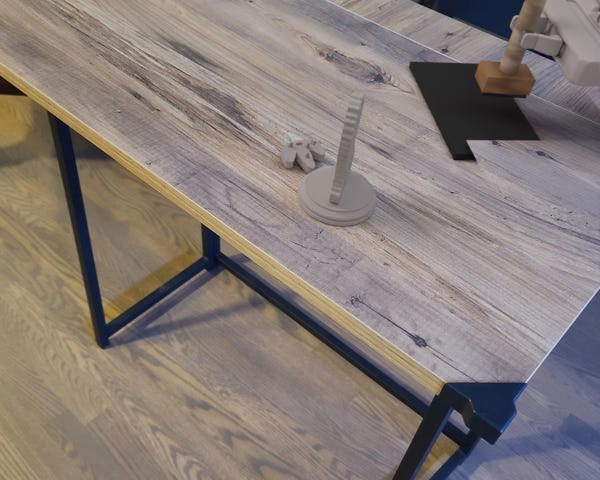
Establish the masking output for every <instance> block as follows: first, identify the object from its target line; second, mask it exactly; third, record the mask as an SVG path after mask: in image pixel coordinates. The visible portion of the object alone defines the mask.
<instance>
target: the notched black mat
mask: <svg viewBox="0 0 600 480" xmlns="http://www.w3.org/2000/svg"><path fill="white" fill-rule="evenodd" d="M478 65H479V63H472V62H443V61H441V62H440V61H409V65H408V68H409V70H410V72H411V74H412V77H413V78H414V80H415V83H416V85H417V87H418V90H419V91H420V93H421V96H423V99H424V101H425V103H426V105H427V107H428V109H429V112H430V114H431V116H432V118H433V120H434V122H435V124H436V126H437V128H438V129H439V132H440V134H441V136H442V138H443V140H444V143H445V145H446V147H447V149H448V151H449V153H450V155H451V157H452V159H453V160H454V161H463V160H464V161H477V158H476V156H475V154H474V152H473V150H472V149H471V147H470V145H469V143H468V141H505V142H506V141H507V142H508V141H509V142H510V141H515V142H517V141H520V142H522V141H523V142H524V141H525V142H527V141H529V142H534V141H535V142H540V141H542V140H541V139H540V137H539V136H538V134H537V133H536V130H534V128H533V126H532V125H531V123H530V121H529V120H528V119H527V117H526V116H525V114H524V113H523V111H522V109H521V108H520V106H519V105H518V103H517V101H516V100H515V98H512V97H497V96H482V95H481V93H480V90H479V88H478V86H477V84H476V82H475V79H476V78H475V73H476V71H477V68H478Z"/></svg>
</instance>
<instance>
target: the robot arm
mask: <svg viewBox="0 0 600 480" xmlns="http://www.w3.org/2000/svg"><path fill="white" fill-rule="evenodd" d="M518 17H519V14H517V15H514V16H513V17H512V19H511V21H510V24H509V28H510V30H511V31H512V32H513V30H514V27H515V25H516V22H517V19H518ZM519 43H520V45H521V47H522V48H527V49H529V50H534V51H535V52H536V51H537V52H538V53H541V54H542V55H543V54H544V55H545V56H551V57H552V59H553V60H554V62H555V63H556V65H557V66H558V68H559V69H560V71H561V72H562V74H563V76H564V77H565V79H566V80H567V82H568V83H570V84H572V85H574V86H577V87H600V0H547V2H546V4H545V6H544V9H543V11H542V14H541V16H540V18H539V21H538V23H537V26H536V28H535V30H523V31H522V32H521V35H520V37H519Z"/></svg>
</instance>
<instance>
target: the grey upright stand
mask: <svg viewBox="0 0 600 480" xmlns="http://www.w3.org/2000/svg"><path fill="white" fill-rule="evenodd" d="M364 104H365V93H363V92H359V91H355V90H354V91H353V92H352V94H351V98H350V100H349V103H348V107H347V110H346V115H345V119H344V122H343V127H342V132H341V135H340V140H339V145H338V151H337V157H336V163H335V164H336V165H326V166H322V167H319V168H315V169H314V171H312V172H310V173H309V174H308V173H306V175H305V176H304V177H303V178H302V179H301V181H300V183H299V185H298V186H297V193H296V194H297V195H296V196H297V197H296V198H297V201H298V203H299V205H300V207H301V208H302V210H303V211H304V212H305V213H306V214H307V215H308V216H310V218H313V219H315V220H316V221H319V222H320V223H323V224H327V225H330V226H336V227H347V226H348V227H349V226H354V225H358V224H362V223H363V222H365V221H367V220H369V218H371V217H372V215H373V214H374V212H375V211H376V207H377V201H378V200H377V199H378V198H377V193H376V190H375V188H374V186H373V185H372V183H371V182H370V180H368V178H366V177H365V176H364V175H363V174H361V173H360V172H358V171H356V170H354V169H352V166H353V161H354V157H355V152H356V151H355V149H356V148H355V147H356V138H357V135H358V134H359V133H358V131H359V130H358V129H359V126H360V123H361V117H362V114H363V108H364Z"/></svg>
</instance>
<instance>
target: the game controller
mask: <svg viewBox="0 0 600 480" xmlns="http://www.w3.org/2000/svg"><path fill="white" fill-rule="evenodd" d="M271 122H272V124H274V126H275V128H276V130H277V132H278V133H279V134H281V135H284V134H285V135H286V136H287V138H288V140H289V143H286V144H285V145H283V146H282V148H281V153H280V159H281V161H282V164H283V166H284V167H285V168H286V169H291V168H293V166H294V163H295V161H296V163H297V164H298V165H299V166H300V167H301V168H302V170H303V171H304V172H305V173H306V174H309V173H310V172H312V171H314V170H315V169H316V168H315V167H316V162H315V160H316V161H318V162H322V161H324V159H325V155H326V150H325V148H324V147H323V146H322V144H321V143H320V142H318V141H317V140H315V139H309V138H305V139H297V140H294V141H292V140H291V138H290V136H289V135H288V134H287V133H286V132H281V131H280V129H278V126H277V124H276V123H275V121H273V120H272V119H270V120H269V123H271ZM295 159H296V160H295Z"/></svg>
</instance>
